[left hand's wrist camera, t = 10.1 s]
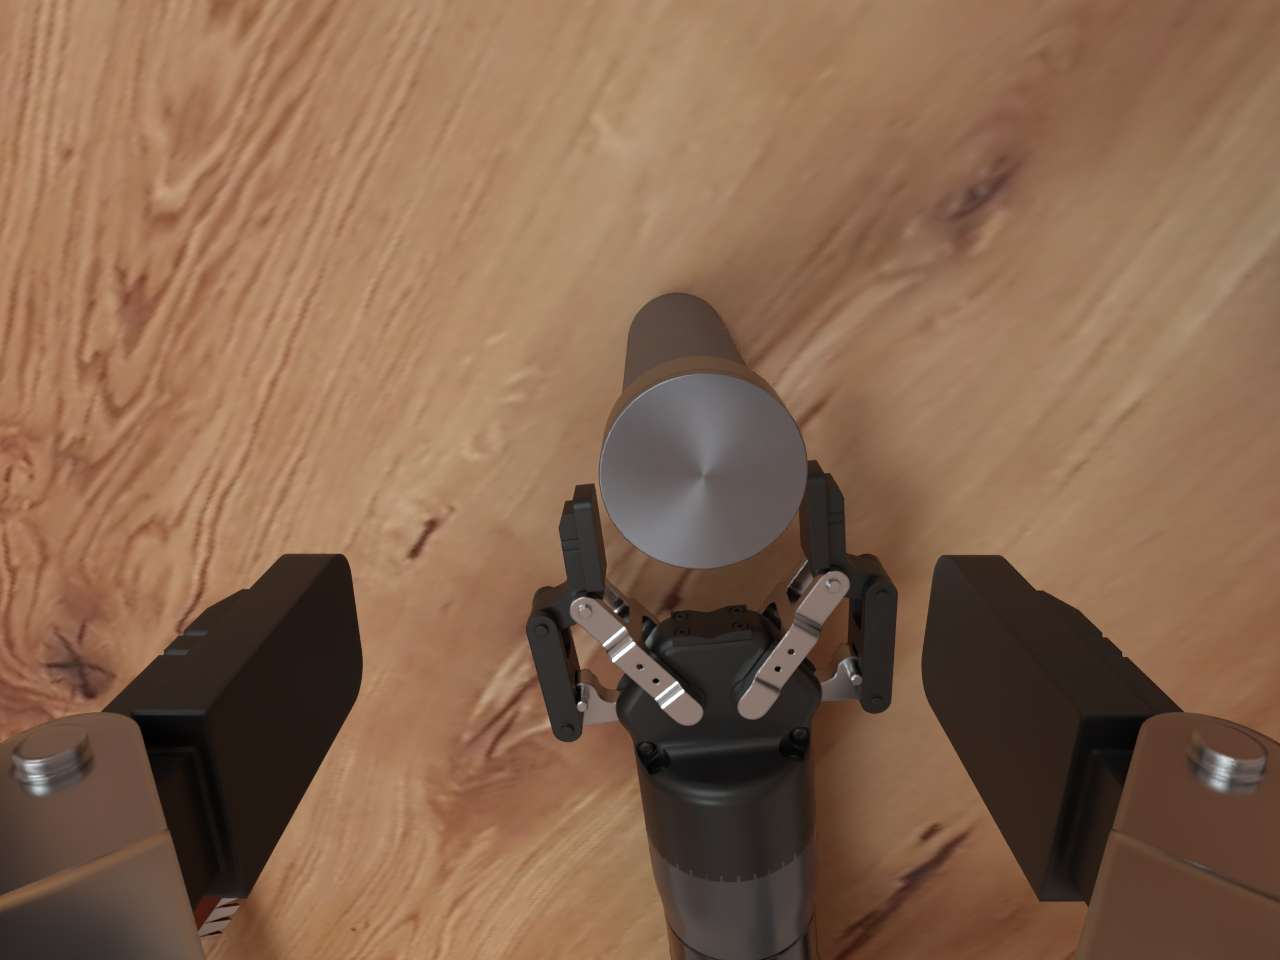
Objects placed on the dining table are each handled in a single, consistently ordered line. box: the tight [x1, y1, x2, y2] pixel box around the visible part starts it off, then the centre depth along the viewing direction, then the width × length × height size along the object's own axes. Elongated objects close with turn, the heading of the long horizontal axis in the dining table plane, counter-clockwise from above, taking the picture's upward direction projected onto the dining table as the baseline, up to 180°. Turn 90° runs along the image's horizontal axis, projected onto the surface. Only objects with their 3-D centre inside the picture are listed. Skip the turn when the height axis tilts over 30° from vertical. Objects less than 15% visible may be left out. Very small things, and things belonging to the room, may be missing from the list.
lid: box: [599, 356, 808, 569], centre depth 20 cm, size 5×5×2 cm
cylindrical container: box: [622, 293, 747, 393], centre depth 27 cm, size 4×4×16 cm
